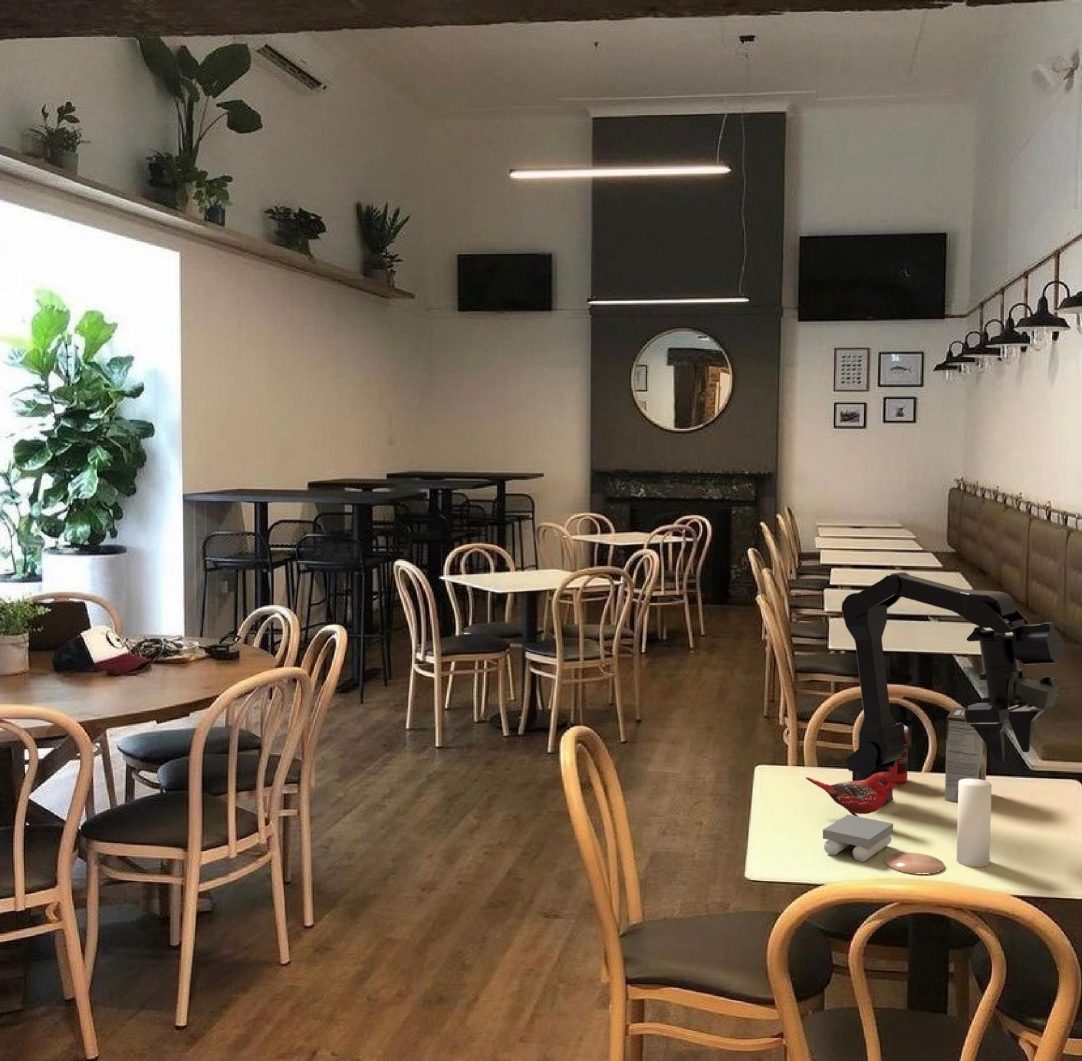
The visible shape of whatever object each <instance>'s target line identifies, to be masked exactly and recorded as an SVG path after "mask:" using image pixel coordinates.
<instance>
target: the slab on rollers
mask: <svg viewBox="0 0 1082 1061" xmlns="http://www.w3.org/2000/svg"><path fill="white" fill-rule="evenodd" d="M858 816H859V815H857V816H854V815H852V814H847V815H844V816H842V818H840V819H838V820H836V821H834V822H833V823H832V824H829V825H828V826H826V827H825V828H823V829H822V839H824V840H826V841H825V842H824V845H823V849H824V851H825V853H826V854H828V855H829V856H835V855H837V854H838V853H840V852H841V851H843V850H845V849H847V848H848V847H849V846H850V845H853V846H855V847H853V850H852V855H853V858H854V859H855V860H856V861H857V862H861V863H862V862H863V863H864V862H865V861H867V860H869V859H870V858H872V856H874V855H875V854H876V853H878V852H880V851H882V850H883V849H884V848H885V847H888V845H890V844H891V843H892V836H891V834H892V833H894V823H893V822H888V821H882V820H877V819H872V818H867V817H862V816H859V817H858Z"/></svg>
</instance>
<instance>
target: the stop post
mask: <svg viewBox="0 0 1082 1061" xmlns="http://www.w3.org/2000/svg"><path fill="white" fill-rule="evenodd" d="M991 814H992V782H990V781H987V780H986V781H985V780H980V779H961V780H959V784H958V802H957V825H956V826H957V830H956V832H957V833H956V835H957V836H956V862H957V861H958V862H959V863H958V862H957V863H958V864H960V865H962V864H963V865H962V866H965V867H969V866H972V867H971V868H985V867H984V866H986V867H988V866H989V865H990V859H991V858H990V856H991V855H990V848H991V818H992V817H991V816H992V815H991Z"/></svg>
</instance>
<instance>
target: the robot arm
mask: <svg viewBox="0 0 1082 1061" xmlns="http://www.w3.org/2000/svg"><path fill="white" fill-rule="evenodd" d="M901 598H905V599H908V600H911V601H914V602H918V603H922V604H926V605H930V606H932V607H936V608H940V609H944V610H948V611H950V612H953V613H955V614H957V615H958V616H959V617H961V618H962V619H963V620H964V621H967V622H969V623H971V624H973V625H975V627H974V628H973V631H972V632H971V633H970V634H969V636H967V638H966V640H967V642H979V646H980V654H981V662H982V669H983V672H982V673H979V674H978V676H979V680H980V681H984V684H985V689H986V690H985V691H986V696H984V697H982V702H977V703H973V704H971V705H968V706H966V707H965V708H966V709H965V711H964V716H965V722H966V723H970V726H971V727H974V729H975V730H976V731H977V733H978V734H979V735H980V737H981V738H982V739H983V741H984V742H985V744H986V745H987V746H986V748H988V750H989V752H990V754H992V756H993V758H994V759H995V760H996V762H998V763H1004V761H1005V733H1004V732H1005V730H1006V728H1007V727H1008V726H1009V724H1010V727H1011V729H1012V731H1013V734H1014V735H1015V738H1016V740H1017V744H1018V745H1019V748H1020V749H1021V752H1022V753H1028V752H1030V750H1031V744H1032V737H1033V732H1034V726H1035V722H1036V720H1037V718H1039V716H1040V715H1041V714H1042V713H1044V712H1045V710H1047V709H1048V708H1049V707H1050V708H1051V707H1052V708H1053V707H1054V706H1055V701H1056V697H1059V696H1060V693H1061V692H1060V690H1059V687H1060V686H1058V683H1057V680H1056V678H1055V677H1053V676H1050V675H1045V676H1043V677H1041V679H1039V680H1038V679H1030V678H1027V672H1026V671H1025V669H1024V668H1022V669H1021V668H1019V661H1020V663H1022V664H1023V665H1026V666H1027V665H1028V666H1029V665H1046V664H1047V665H1049V664H1051V665H1052V664H1060V663H1062V661H1063V659H1064V654H1065V644H1064V640H1063V638H1062V636H1061V635H1060V632H1059V631H1058V630H1057V629H1056V627H1055V622H1054V621H1051V622H1050V621H1049V622H1048V621H1047V622H1043V623H1039V624H1038V623H1037V624H1032V623H1031V622H1030V621H1029V620H1028V619H1027V617H1025V616H1024V615H1023V613H1022V612H1020V610H1019V609H1018V608H1017V607H1016V605H1015V602H1014V600H1013V598H1012V596H1011V595H1010V594H1009V593H1006V592H1004V591H995V590H983V589H982V590H976V589H974V590H972V589H971V590H970V589H963V588H960V587H957V586H956V587H955V586H951V585H948V584H945V583H944V584H943V583H941V582H937V581H934V580H929V579H926V578H922V577H918V576H916V575H915V576H914V575H911V574H908V573H907V572H905V571H903V572H902V571H899V572H894V573H889V574H887V575H886V576H885V577H883V578H882V579H880V580H879V581H877V582H875V583H874V584H872V585H869V586H868V587H865V588H864V589H862V590H861V591H860V592H854V593H850V594H848V595H847V596H846V597H845V598H844V600H842V603H841V613H842V616H843V621H844V624H845V627H846V629H847V630H848V632H849V634H850V636H851V637H852V638H853V640H854V643H855V651H856V659H857V668H858V675H859V685H860V692H861V693H860V694H861V701H862V709H863V710H862V711H863V719H862V722H861V725H860V728H859V732H858V744H857V745H858V749H856V750H855V751H854V752H853V753H851V754H850V755H849V756H848V757H847V758H845V763H846V765H847V770H848V771H849V772H851V773H852V774H851V776H852V777H851V781H860V780H865V779H867V778H869V777H870V776H872V775H873V774H875V773H879V772H887V773H889V774H890V769H888V768H890V767H894V766H895V763H896V761H897V759H898V758H900V756H901V755H902V754H903V752H904V745H906V744H907V742H906V740H905V737H904V725H905V724H904V723H903V722H899V723H898V722H896V720H895V719H894V717H893V715H892V713H891V706H890V698H889V688H888V681H887V679H888V678H887V674H886V673H887V672H886V663H885V655H884V648H883V635H884V631H885V628H886V626H887V623H888V609H889V608H890V607H892V606H893V605H894V604H896V603H897V602H899V600H900V599H901ZM988 628H990V629H988ZM987 629H988V630H987ZM1010 633H1012V634H1010ZM897 723H898V724H897ZM893 788H894V787H892V790H891V793H890V794H889V796H888V798H887V800H886V802H885V804H884V805H883V806H882V807H881V808H883V807H884V806H886V805H887V804H889V803H890V802H892V801H893V800H894V797H893V795H894V793H893V792H894V791H893Z"/></svg>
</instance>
